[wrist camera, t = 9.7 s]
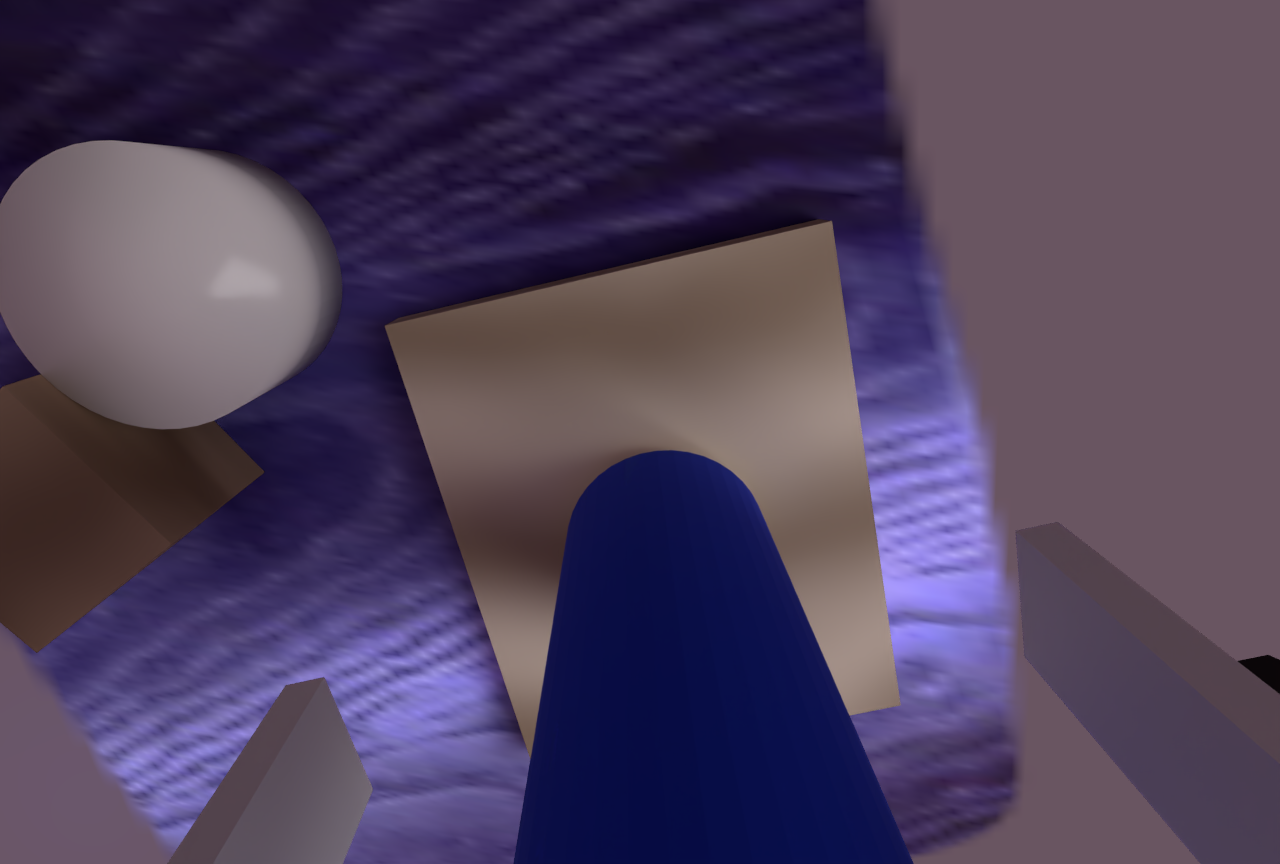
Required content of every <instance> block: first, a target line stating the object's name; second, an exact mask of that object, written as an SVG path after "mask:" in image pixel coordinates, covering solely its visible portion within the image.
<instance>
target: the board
mask: <svg viewBox="0 0 1280 864" xmlns="http://www.w3.org/2000/svg"><path fill="white" fill-rule="evenodd" d="M385 328H386V331H387V334H388V337H389V340H390V343H391V346H392V349H393V352H394V355H395V358H396V361H397V364H398V367H399V370H400V373H401V376H402V379H403V382H404V385H405V388H406V391H407V394H408V397H409V400H410V403H411V406H412V409H413V412H414V415H415V418H416V421H417V424H418V427H419V429H420V432H421V435H422V438H423V441H424V444H425V447H426V450H427V453H428V456H429V459H430V462H431V465H432V468H433V471H434V474H435V477H436V480H437V483H438V486H439V489H440V492H441V495H442V498H443V501H444V504H445V507H446V510H447V513H448V516H449V519H450V522H451V525H452V528H453V530H454V533H455V536H456V539H457V542H458V545H459V548H460V551H461V554H462V557H463V560H464V563H465V566H466V569H467V572H468V575H469V578H470V581H471V584H472V587H473V590H474V593H475V596H476V599H477V602H478V605H479V608H480V611H481V614H482V617H483V620H484V623H485V626H486V629H487V631H488V634H489V637H490V640H491V643H492V646H493V649H494V652H495V655H496V658H497V661H498V664H499V667H500V670H501V673H502V676H503V679H504V682H505V685H506V688H507V691H508V694H509V697H510V700H511V703H512V706H513V709H514V712H515V715H516V718H517V721H518V724H519V727H520V730H521V732H522V735H523V738H524V741H525V744H526V747H527V750H528V753H529V756H530V759H531V753H532V747H533V741H534V735H535V728H536V722H537V716H538V710H539V704H540V698H541V691H542V685H543V679H544V673H545V667H546V661H547V654H548V648H549V642H550V636H551V630H552V624H553V617H554V611H555V605H556V599H557V593H558V587H559V580H560V574H561V568H562V562H563V556H564V550H565V543H566V537H567V531H568V525H569V522H570V519H571V515H572V512H573V510H574V508H575V506H576V504H577V502H578V500H579V498H580V496H581V495H582V494H583V492H584V491H585V489H586V488H587V487H588V486H589V485H590V484H591V483H592V482H593V481H594V480H595V479H596V478H597V476H598V475H600V474H601V473H603V472H604V471H605V470H607V469H608V468H609V467H611V466H613V465H614V464H616V463H618V462H620V461H622V460H624V459H626V458H629V457H632V456H635V455H638V454H641V453H647V452H652V451H663V450H676V451H684V452H690V453H694V454H698V455H701V456H705V457H707V458H709V459H711V460H714V461H716V462H718V463H720V464H721V465H723V466H724V467H726V468H727V469H729V470H731V471H732V472H733V473H734V474H735V475H736V476H737V477H738V478H740V479H741V480H742V481H743V482H744V484H745V485H746V486H747V488H748V489H749V490H750V491H751V493H752V494H753V496H754V498H755V500H756V502H757V504H758V505H759V508H760V510H761V512H762V515H763V517H764V519H765V522H766V524H767V526H768V528H769V531H770V533H771V535H772V538H773V540H774V542H775V545H776V547H777V549H778V552H779V554H780V556H781V559H782V561H783V563H784V565H785V568H786V570H787V572H788V575H789V577H790V579H791V582H792V584H793V586H794V589H795V591H796V593H797V595H798V598H799V600H800V602H801V605H802V607H803V609H804V612H805V614H806V616H807V619H808V621H809V623H810V626H811V628H812V630H813V632H814V635H815V637H816V639H817V642H818V644H819V646H820V649H821V651H822V653H823V656H824V658H825V660H826V663H827V665H828V667H829V669H830V672H831V674H832V676H833V679H834V681H835V683H836V686H837V688H838V690H839V693H840V695H841V697H842V700H843V702H844V704H845V706H846V709H847V711H848V713H849V715H854V714H859V713H864V712H869V711H874V710H879V709H884V708H889V707H894V706H899V705H900V698H899V691H898V684H897V677H896V670H895V663H894V656H893V649H892V642H891V635H890V628H889V621H888V614H887V607H886V600H885V593H884V586H883V579H882V572H881V564H880V557H879V550H878V543H877V536H876V529H875V522H874V515H873V508H872V501H871V494H870V487H869V480H868V473H867V466H866V459H865V452H864V445H863V438H862V430H861V423H860V416H859V409H858V402H857V395H856V388H855V381H854V374H853V367H852V360H851V353H850V346H849V339H848V332H847V325H846V318H845V311H844V304H843V297H842V289H841V282H840V275H839V268H838V261H837V254H836V247H835V240H834V233H833V226H832V221H828V220H821V219H818V220H814V221H809V222H805V223H801V224H797V225H792V226H788V227H784V228H780V229H775V230H771V231H767V232H763V233H758V234H754V235H750V236H746V237H741V238H737V239H733V240H728V241H724V242H720V243H716V244H711V245H707V246H703V247H699V248H694V249H690V250H686V251H682V252H677V253H673V254H669V255H664V256H660V257H656V258H652V259H647V260H643V261H639V262H635V263H630V264H626V265H622V266H618V267H613V268H609V269H605V270H601V271H596V272H592V273H588V274H583V275H579V276H575V277H571V278H566V279H562V280H558V281H554V282H549V283H545V284H541V285H537V286H532V287H528V288H524V289H520V290H515V291H511V292H507V293H502V294H498V295H494V296H490V297H485V298H481V299H477V300H473V301H468V302H464V303H460V304H456V305H451V306H447V307H443V308H438V309H434V310H430V311H426V312H421V313H417V314H413V315H409V316H404V317H400V318H398V319H396V320H394V321H392V322H391V323H389V324H387V325H385Z"/></svg>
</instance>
